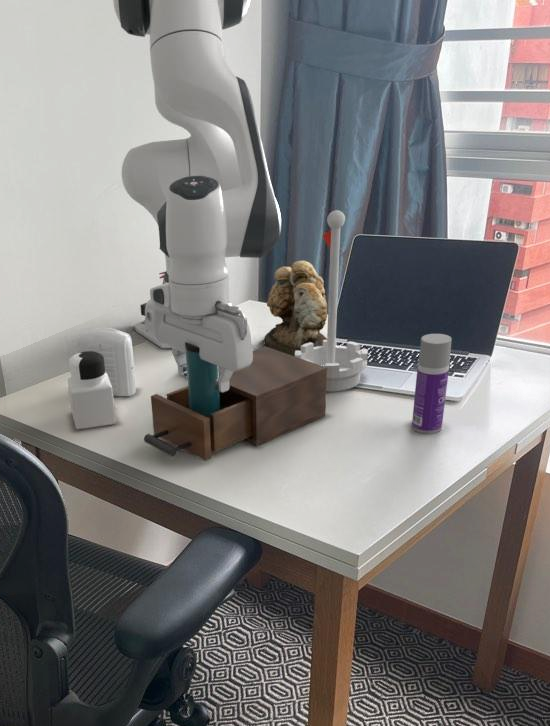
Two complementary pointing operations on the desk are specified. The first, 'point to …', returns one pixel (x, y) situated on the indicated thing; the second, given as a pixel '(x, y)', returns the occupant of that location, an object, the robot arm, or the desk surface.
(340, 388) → the flag stand
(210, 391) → the tin
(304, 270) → the owl figurine
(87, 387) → the medicine bottle
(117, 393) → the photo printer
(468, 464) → the desk surface
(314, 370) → the cabinet
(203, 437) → the drawer
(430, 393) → the container
